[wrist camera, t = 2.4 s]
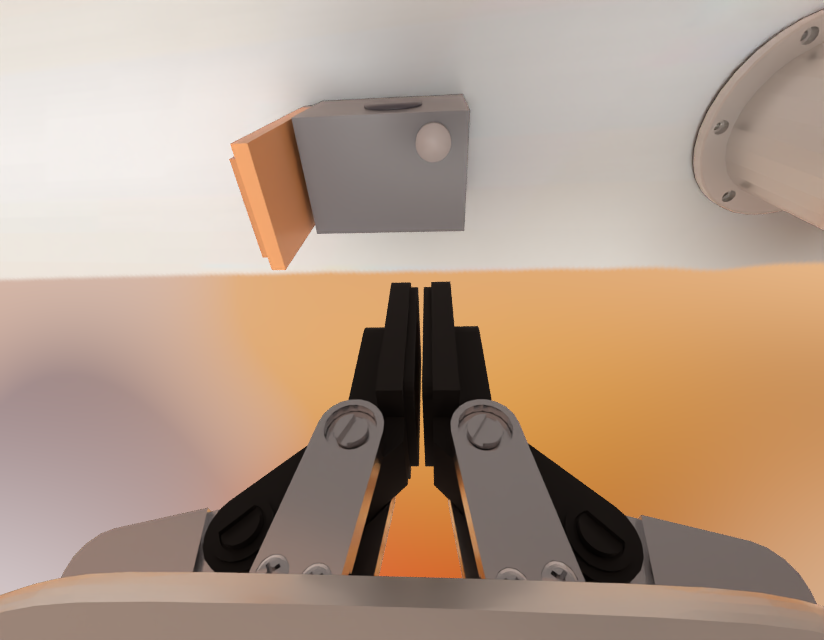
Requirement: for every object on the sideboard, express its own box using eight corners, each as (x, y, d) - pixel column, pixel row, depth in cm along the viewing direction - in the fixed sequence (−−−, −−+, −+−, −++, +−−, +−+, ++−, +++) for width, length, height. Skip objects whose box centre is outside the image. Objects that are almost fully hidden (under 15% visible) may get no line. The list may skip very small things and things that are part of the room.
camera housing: (462, 91, 25) (470, 108, 19) (459, 194, 29) (464, 234, 23) (321, 98, 26) (287, 116, 20) (339, 197, 30) (315, 236, 24)
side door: (315, 105, 25) (247, 143, 16) (332, 198, 29) (285, 269, 20) (298, 106, 25) (221, 144, 16) (318, 198, 29) (265, 269, 20)
